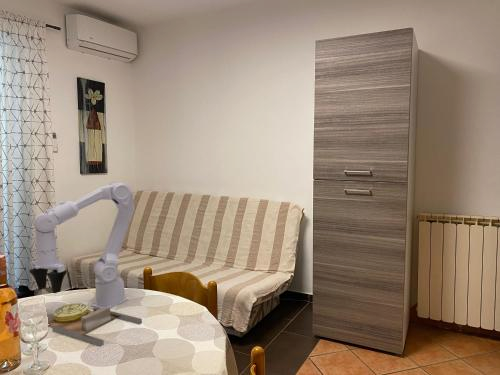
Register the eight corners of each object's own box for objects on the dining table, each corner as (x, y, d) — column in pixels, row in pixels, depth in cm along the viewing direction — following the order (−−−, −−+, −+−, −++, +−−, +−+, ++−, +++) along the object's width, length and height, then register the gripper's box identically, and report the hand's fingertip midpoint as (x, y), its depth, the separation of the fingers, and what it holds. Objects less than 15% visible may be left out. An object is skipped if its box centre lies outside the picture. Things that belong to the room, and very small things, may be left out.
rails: (96, 311, 126) (96, 307, 126) (142, 323, 117) (141, 318, 116) (52, 331, 112) (52, 327, 112) (100, 347, 102) (100, 342, 102)
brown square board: (43, 324, 117) (41, 310, 116) (78, 309, 128) (78, 296, 128) (80, 336, 108) (79, 321, 108) (115, 318, 120) (114, 305, 119)
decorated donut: (90, 309, 128) (89, 299, 128) (87, 322, 118) (86, 310, 118) (57, 314, 125) (56, 303, 125) (51, 327, 115) (50, 316, 114)
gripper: (20, 250, 120) (24, 291, 121) (48, 255, 113) (51, 298, 114) (41, 245, 126) (44, 284, 127) (69, 249, 119) (72, 290, 120)
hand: (49, 290), depth 121 cm, fingers open, 7 cm apart
